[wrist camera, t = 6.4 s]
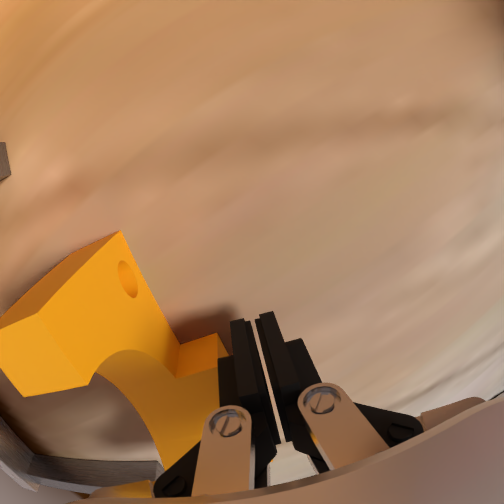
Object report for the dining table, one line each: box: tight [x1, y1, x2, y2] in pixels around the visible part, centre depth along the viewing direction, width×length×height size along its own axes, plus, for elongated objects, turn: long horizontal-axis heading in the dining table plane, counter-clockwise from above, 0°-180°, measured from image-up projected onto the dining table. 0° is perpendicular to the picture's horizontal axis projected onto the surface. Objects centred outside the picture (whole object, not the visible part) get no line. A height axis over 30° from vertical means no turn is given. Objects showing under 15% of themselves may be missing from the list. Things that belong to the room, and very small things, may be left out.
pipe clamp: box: [0, 230, 273, 471], centre depth 10 cm, size 12×4×6 cm, turn 19°
